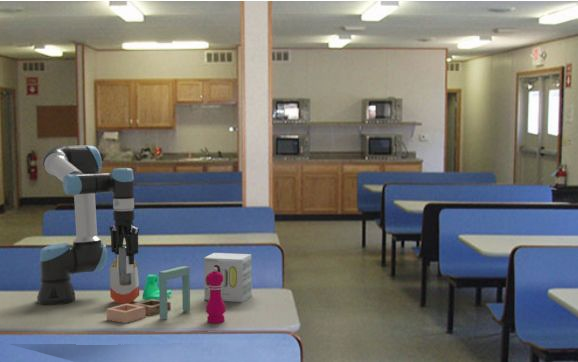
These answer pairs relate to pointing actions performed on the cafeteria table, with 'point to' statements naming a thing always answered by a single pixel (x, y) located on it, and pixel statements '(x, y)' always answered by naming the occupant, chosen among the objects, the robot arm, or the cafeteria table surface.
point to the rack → (125, 313)
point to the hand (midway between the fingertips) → (125, 272)
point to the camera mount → (152, 288)
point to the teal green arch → (163, 278)
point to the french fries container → (123, 292)
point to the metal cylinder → (123, 267)
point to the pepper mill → (215, 298)
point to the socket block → (152, 306)
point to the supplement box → (230, 275)
